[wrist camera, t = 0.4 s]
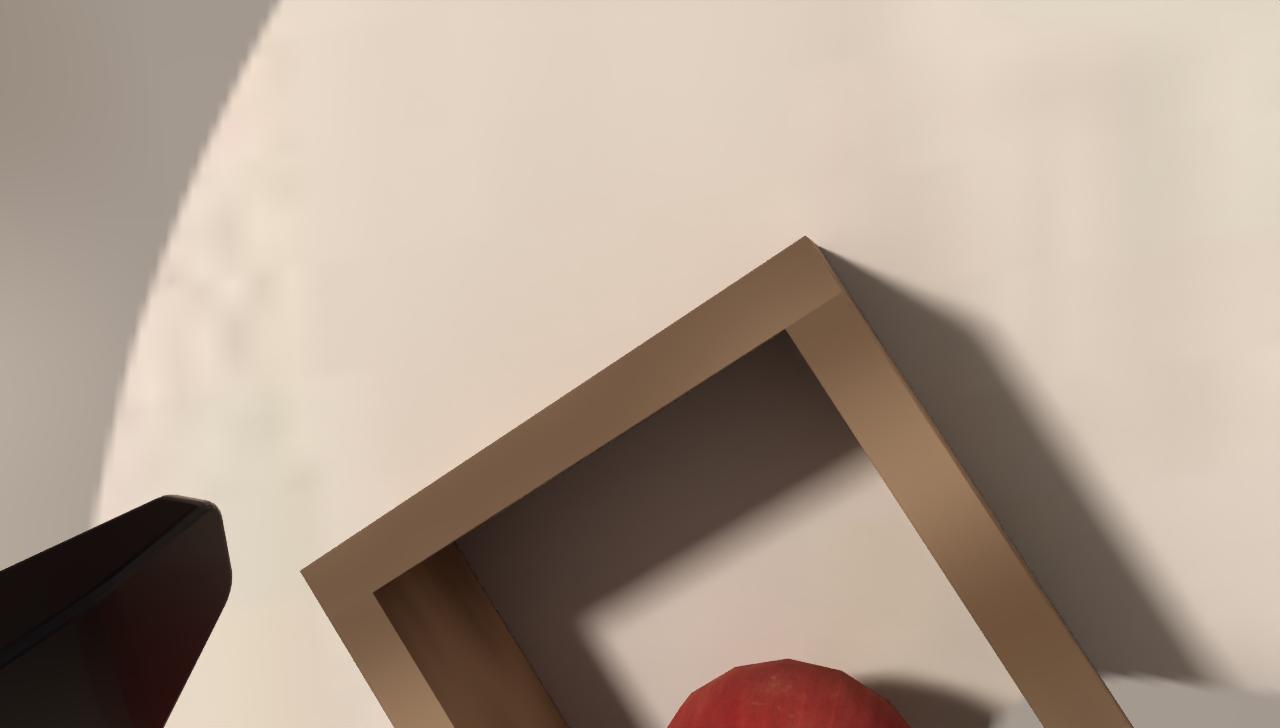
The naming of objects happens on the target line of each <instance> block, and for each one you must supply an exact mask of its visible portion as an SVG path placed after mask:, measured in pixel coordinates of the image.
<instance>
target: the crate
mask: <svg viewBox="0 0 1280 728" xmlns="http://www.w3.org/2000/svg"><path fill="white" fill-rule="evenodd" d="M785 330H786V331H787V332H788V334H789V335H790V337H791V338H792V340H793V342H794V343H795V345H796V346H797V348H798V349H799V351H800V352H801V354H802V355H803V357H804V359H805V360H806V362H807V363H808V365H809V366H810V368H811V369H812V371H813V372H814V374H815V375H816V377H817V379H818V380H819V382H820V383H821V385H822V386H823V388H824V389H825V391H826V392H827V394H828V395H829V397H830V399H831V400H832V402H833V403H834V405H835V406H836V408H837V409H838V411H839V412H840V414H841V415H842V417H843V419H844V420H845V422H846V423H847V425H848V426H849V428H850V429H851V431H852V432H853V434H854V436H855V437H856V439H857V440H858V442H859V443H860V445H861V446H862V448H863V449H864V451H865V452H866V454H867V456H868V457H869V459H870V460H871V462H872V463H873V465H874V466H875V468H876V469H877V471H878V472H879V474H880V476H881V477H882V479H883V480H884V482H885V483H886V485H887V486H888V488H889V489H890V491H891V492H892V494H893V496H894V497H895V499H896V500H897V502H898V503H899V505H900V506H901V508H902V509H903V511H904V512H905V514H906V516H907V517H908V519H909V520H910V522H911V523H912V525H913V526H914V528H915V529H916V531H917V533H918V534H919V536H920V537H921V539H922V540H923V542H924V543H925V545H926V546H927V548H928V549H929V551H930V553H931V554H932V556H933V557H934V559H935V560H936V562H937V563H938V565H939V566H940V568H941V569H942V571H943V573H944V574H945V576H946V577H947V579H948V580H949V582H950V583H951V585H952V586H953V588H954V589H955V591H956V593H957V594H958V596H959V597H960V599H961V600H962V602H963V603H964V605H965V606H966V608H967V609H968V611H969V613H970V614H971V616H972V617H973V619H974V620H975V622H976V623H977V625H978V626H979V628H980V630H981V631H982V633H983V634H984V636H985V637H986V639H987V640H988V642H989V643H990V645H991V646H992V648H993V650H994V651H995V653H996V654H997V656H998V657H999V659H1000V660H1001V662H1002V663H1003V665H1004V666H1005V668H1006V670H1007V671H1008V673H1009V674H1010V676H1011V677H1012V679H1013V680H1014V682H1015V683H1016V685H1017V686H1018V688H1019V690H1020V691H1021V693H1022V694H1023V696H1024V697H1025V699H1026V700H1027V702H1028V703H1029V705H1030V707H1031V708H1032V709H1033V711H1034V713H1035V714H1036V715H1037V717H1038V719H1039V720H1040V722H1041V723H1042V725H1043V726H1044V728H1133V726H1132V724H1131V723H1130V721H1129V720H1128V718H1127V717H1126V715H1125V714H1124V712H1123V711H1122V709H1121V708H1120V706H1119V705H1118V703H1117V702H1116V700H1115V699H1114V697H1113V695H1112V694H1111V692H1110V691H1109V689H1108V688H1107V686H1106V685H1105V683H1104V682H1103V680H1102V679H1101V677H1100V676H1099V674H1098V673H1097V671H1096V669H1095V668H1094V666H1093V665H1092V663H1091V662H1090V660H1089V659H1088V657H1087V656H1086V654H1085V653H1084V651H1083V650H1082V648H1081V647H1080V645H1079V644H1078V642H1077V641H1076V639H1075V637H1074V636H1073V634H1072V633H1071V631H1070V630H1069V628H1068V627H1067V625H1066V624H1065V622H1064V621H1063V619H1062V618H1061V616H1060V615H1059V613H1058V612H1057V610H1056V609H1055V607H1054V605H1053V604H1052V602H1051V601H1050V599H1049V598H1048V596H1047V595H1046V593H1045V592H1044V590H1043V589H1042V587H1041V586H1040V584H1039V583H1038V581H1037V580H1036V578H1035V576H1034V575H1033V573H1032V572H1031V570H1030V569H1029V567H1028V566H1027V564H1026V563H1025V561H1024V560H1023V558H1022V557H1021V555H1020V554H1019V552H1018V551H1017V549H1016V548H1015V546H1014V544H1013V543H1012V541H1011V540H1010V538H1009V537H1008V535H1007V534H1006V532H1005V531H1004V529H1003V528H1002V526H1001V525H1000V523H999V522H998V520H997V519H996V517H995V516H994V514H993V512H992V511H991V509H990V508H989V506H988V505H987V503H986V502H985V500H984V499H983V497H982V496H981V494H980V493H979V491H978V490H977V488H976V487H975V485H974V483H973V482H972V480H971V479H970V477H969V476H968V474H967V473H966V471H965V470H964V468H963V467H962V465H961V464H960V462H959V461H958V459H957V458H956V456H955V455H954V453H953V451H952V450H951V448H950V447H949V445H948V444H947V442H946V441H945V439H944V438H943V436H942V435H941V433H940V432H939V430H938V429H937V427H936V426H935V424H934V423H933V421H932V419H931V418H930V416H929V415H928V413H927V412H926V410H925V409H924V407H923V406H922V404H921V403H920V401H919V400H918V398H917V397H916V395H915V394H914V392H913V390H912V389H911V387H910V386H909V384H908V383H907V381H906V380H905V378H904V377H903V375H902V374H901V372H900V371H899V369H898V368H897V366H896V365H895V363H894V362H893V360H892V358H891V357H890V355H889V354H888V352H887V351H886V349H885V348H884V346H883V345H882V343H881V342H880V340H879V339H878V337H877V336H876V334H875V333H874V331H873V330H872V328H871V326H870V325H869V323H868V322H867V320H866V319H865V317H864V316H863V314H862V313H861V311H860V310H859V308H858V307H857V305H856V304H855V302H854V301H853V299H852V297H851V296H850V294H849V293H848V291H847V290H846V288H845V287H844V285H843V284H842V282H841V281H840V279H839V278H838V276H837V275H836V273H835V272H834V270H833V269H832V267H831V265H830V264H829V262H828V261H827V259H826V258H825V256H824V255H823V253H822V252H821V250H820V249H819V247H818V246H817V245H816V244H815V243H814V242H813V241H811V240H810V239H809V238H808V237H807V236H804V237H802V238H801V239H799V240H798V241H796V242H795V243H793V244H792V245H790V246H789V247H787V248H786V249H784V250H783V251H781V252H780V253H778V254H777V255H775V256H774V257H772V258H771V259H769V260H768V261H766V262H765V263H763V264H762V265H760V266H759V267H757V268H756V269H754V270H753V271H751V272H750V273H748V274H747V275H745V276H744V277H742V278H741V279H739V280H738V281H736V282H735V283H733V284H732V285H730V286H729V287H727V288H726V289H724V290H723V291H721V292H720V293H718V294H717V295H715V296H714V297H712V298H711V299H709V300H708V301H706V302H705V303H703V304H701V305H700V306H698V307H697V308H695V309H694V310H692V311H691V312H689V313H688V314H686V315H685V316H683V317H682V318H680V319H679V320H677V321H676V322H674V323H673V324H671V325H670V326H668V327H667V328H665V329H664V330H662V331H661V332H659V333H658V334H656V335H655V336H653V337H652V338H650V339H649V340H647V341H646V342H644V343H643V344H641V345H640V346H638V347H637V348H635V349H634V350H632V351H631V352H629V353H628V354H626V355H625V356H623V357H622V358H620V359H619V360H617V361H616V362H614V363H613V364H611V365H610V366H608V367H607V368H605V369H604V370H602V371H601V372H599V373H597V374H596V375H594V376H593V377H591V378H590V379H588V380H587V381H585V382H584V383H582V384H581V385H579V386H578V387H576V388H575V389H573V390H572V391H570V392H569V393H567V394H566V395H564V396H563V397H561V398H560V399H558V400H557V401H555V402H554V403H552V404H551V405H549V406H548V407H546V408H545V409H543V410H542V411H540V412H539V413H537V414H536V415H534V416H533V417H531V418H530V419H528V420H527V421H525V422H524V423H522V424H521V425H519V426H518V427H516V428H515V429H513V430H512V431H510V432H509V433H507V434H506V435H504V436H503V437H501V438H500V439H498V440H497V441H495V442H493V443H492V444H490V445H489V446H487V447H486V448H484V449H483V450H481V451H480V452H478V453H477V454H475V455H474V456H472V457H471V458H469V459H468V460H466V461H465V462H463V463H462V464H460V465H459V466H457V467H456V468H454V469H453V470H451V471H450V472H448V473H447V474H445V475H444V476H442V477H441V478H439V479H438V480H436V481H435V482H433V483H432V484H430V485H429V486H427V487H426V488H424V489H423V490H421V491H420V492H418V493H417V494H415V495H414V496H412V497H411V498H409V499H408V500H406V501H405V502H403V503H402V504H400V505H399V506H397V507H396V508H394V509H393V510H391V511H389V512H388V513H386V514H385V515H383V516H382V517H380V518H379V519H377V520H376V521H374V522H373V523H371V524H370V525H368V526H367V527H365V528H364V529H362V530H361V531H359V532H358V533H356V534H355V535H353V536H352V537H350V538H349V539H347V540H346V541H344V542H343V543H341V544H340V545H338V546H337V547H335V548H334V549H332V550H331V551H329V552H328V553H326V554H325V555H323V556H322V557H320V558H319V559H317V560H316V561H314V562H313V563H311V564H310V565H308V566H307V567H305V568H304V569H302V570H301V571H300V572H301V574H302V575H303V577H304V578H305V580H306V582H307V583H308V585H309V587H310V588H311V590H312V592H313V593H314V595H315V597H316V598H317V600H318V602H319V603H320V605H321V607H322V608H323V610H324V612H325V613H326V615H327V617H328V618H329V620H330V622H331V623H332V625H333V627H334V628H335V630H336V632H337V633H338V635H339V637H340V638H341V640H342V642H343V643H344V645H345V647H346V648H347V650H348V652H349V653H350V655H351V657H352V658H353V660H354V662H355V663H356V665H357V667H358V668H359V670H360V671H361V673H362V675H363V676H364V678H365V680H366V681H367V683H368V685H369V686H370V688H371V690H372V691H373V693H374V695H375V696H376V698H377V700H378V701H379V703H380V705H381V706H382V708H383V710H384V711H385V713H386V715H387V716H388V718H389V720H390V721H391V723H392V725H393V726H394V728H568V726H567V725H566V723H565V721H564V720H563V718H562V716H561V715H560V713H559V712H558V710H557V708H556V707H555V705H554V703H553V702H552V700H551V699H550V697H549V695H548V694H547V692H546V690H545V689H544V687H543V686H542V684H541V682H540V681H539V679H538V677H537V676H536V674H535V673H534V671H533V669H532V668H531V666H530V664H529V663H528V661H527V660H526V658H525V656H524V655H523V653H522V651H521V650H520V648H519V647H518V645H517V643H516V642H515V640H514V638H513V637H512V635H511V634H510V632H509V630H508V629H507V627H506V625H505V624H504V622H503V621H502V619H501V617H500V616H499V614H498V612H497V611H496V609H495V608H494V606H493V604H492V603H491V601H490V599H489V598H488V596H487V595H486V593H485V591H484V590H483V588H482V586H481V585H480V583H479V582H478V580H477V578H476V577H475V575H474V573H473V572H472V570H471V568H470V567H469V565H468V564H467V562H466V560H465V559H464V557H463V555H462V554H461V552H460V551H459V549H458V547H457V546H456V544H455V541H457V540H458V539H460V538H462V537H463V536H465V535H466V534H468V533H469V532H471V531H473V530H474V529H476V528H477V527H479V526H480V525H482V524H483V523H485V522H487V521H488V520H490V519H491V518H493V517H494V516H496V515H498V514H499V513H501V512H502V511H504V510H505V509H507V508H509V507H510V506H512V505H513V504H515V503H516V502H518V501H519V500H521V499H523V498H524V497H526V496H527V495H529V494H530V493H532V492H534V491H535V490H537V489H538V488H540V487H541V486H543V485H544V484H546V483H548V482H549V481H551V480H552V479H554V478H555V477H557V476H559V475H560V474H562V473H563V472H565V471H566V470H568V469H569V468H571V467H573V466H574V465H576V464H577V463H579V462H580V461H582V460H584V459H585V458H587V457H588V456H590V455H591V454H593V453H595V452H596V451H598V450H599V449H601V448H602V447H604V446H605V445H607V444H609V443H610V442H612V441H613V440H615V439H616V438H618V437H620V436H621V435H623V434H624V433H626V432H627V431H629V430H630V429H632V428H634V427H635V426H637V425H638V424H640V423H641V422H643V421H645V420H646V419H648V418H649V417H651V416H652V415H654V414H655V413H657V412H659V411H660V410H662V409H663V408H665V407H666V406H668V405H670V404H671V403H673V402H674V401H676V400H677V399H679V398H681V397H682V396H684V395H685V394H687V393H688V392H690V391H691V390H693V389H695V388H696V387H698V386H699V385H701V384H702V383H704V382H706V381H707V380H709V379H710V378H712V377H713V376H715V375H716V374H718V373H720V372H721V371H723V370H724V369H726V368H727V367H729V366H731V365H732V364H734V363H735V362H737V361H738V360H740V359H741V358H743V357H745V356H746V355H748V354H749V353H751V352H752V351H754V350H756V349H757V348H759V347H760V346H762V345H763V344H765V343H767V342H768V341H770V340H771V339H773V338H774V337H776V336H777V335H779V334H781V333H782V332H784V331H785Z"/></svg>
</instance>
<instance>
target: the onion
mask: <svg viewBox="0 0 1280 728" xmlns="http://www.w3.org/2000/svg"><path fill="white" fill-rule="evenodd" d="M667 728H911V727H910V726H909V725H908V724H907V722H906V721H905V720H904V719H903V718H902V716H901V715H900V714H899V713H898V712H897V710H896V709H895V708H894V707H893V705H892V704H891V703H890V702H889V701H888V700H886V699H884V698H883V697H881V696H880V695H878V694H877V693H875V692H874V691H872V690H870V689H869V688H867V687H866V686H864V685H863V684H861V683H860V682H858V681H857V680H855V679H853V678H852V677H850V676H849V675H847V674H846V673H844V672H843V671H840V670H836V669H831V668H827V667H823V666H818V665H814V664H809V663H805V662H801V661H796V660H792V659H783V660H777V661H770V662H764V663H758V664H751V665H745V666H739V667H735V668H733V669H731V670H730V671H728V672H726V673H725V674H723V675H721V676H720V677H718V678H716V679H714V680H713V681H711V682H709V683H708V684H706V685H704V686H703V687H701V688H699V689H697V690H696V691H694V692H692V693H691V694H690V696H689V697H688V698H687V699H686V701H685V702H684V703H683V705H682V706H681V707H680V708H679V710H678V712H677V713H676V715H675V716H674V718H673V719H672V721H671V723H670V724H669V726H668V727H667Z"/></svg>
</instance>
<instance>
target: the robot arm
mask: <svg viewBox="0 0 1280 728" xmlns="http://www.w3.org/2000/svg"><path fill="white" fill-rule="evenodd" d="M231 585H232V569H231V564H230V558H229V553H228V547H227V542H226V536H225V531H224V525H223V520H222V515H221V512H220V510H219V509H218V507H217V506H216V505H215V504H214V503H211V502H210V501H206V500H201V499H196V498H190V497H185V496H179V495H165V496H162V497H159V498H157V499H154V500H152V501H150V502H148V503H146V504H144V505H142V506H139V507H137V508H135V509H133V510H131V511H129V512H126V513H124V514H122V515H120V516H118V517H116V518H114V519H111V520H109V521H107V522H105V523H103V524H101V525H98V526H96V527H94V528H92V529H90V530H88V531H86V532H83V533H81V534H79V535H77V536H75V537H73V538H71V539H69V540H66V541H64V542H62V543H60V544H58V545H55V546H53V547H51V548H49V549H47V550H45V551H43V552H40V553H38V554H36V555H34V556H32V557H30V558H28V559H25V560H23V561H21V562H19V563H17V564H15V565H12V566H10V567H8V568H6V569H4V570H2V571H0V728H164V726H165V724H166V722H167V720H168V718H169V716H170V714H171V712H172V710H173V708H174V706H175V704H176V702H177V700H178V698H179V696H180V694H181V692H182V690H183V688H184V686H185V684H186V682H187V680H188V678H189V676H190V674H191V672H192V670H193V668H194V666H195V664H196V662H197V660H198V658H199V656H200V654H201V652H202V650H203V648H204V646H205V644H206V642H207V640H208V638H209V636H210V634H211V632H212V630H213V628H214V626H215V624H216V622H217V620H218V618H219V616H220V614H221V612H222V610H223V608H224V606H225V604H226V602H227V600H228V597H229V594H230V590H231Z"/></svg>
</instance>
